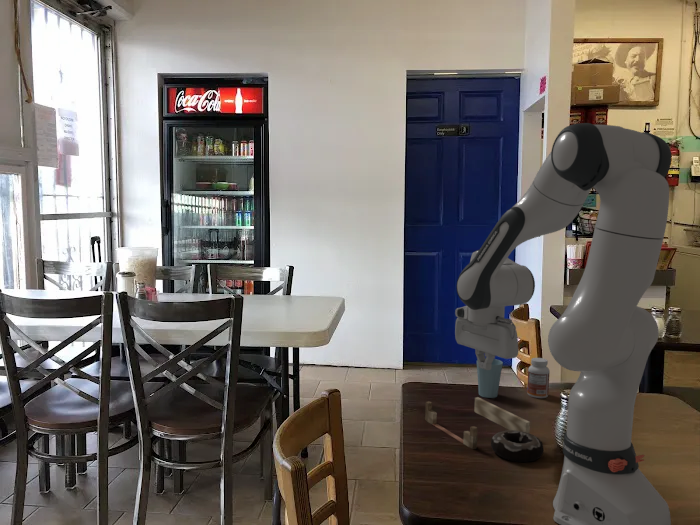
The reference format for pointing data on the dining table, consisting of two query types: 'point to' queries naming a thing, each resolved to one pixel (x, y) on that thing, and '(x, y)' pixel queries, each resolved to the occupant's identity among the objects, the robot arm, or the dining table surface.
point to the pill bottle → (538, 378)
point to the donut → (517, 446)
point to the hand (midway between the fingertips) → (484, 368)
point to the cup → (489, 379)
